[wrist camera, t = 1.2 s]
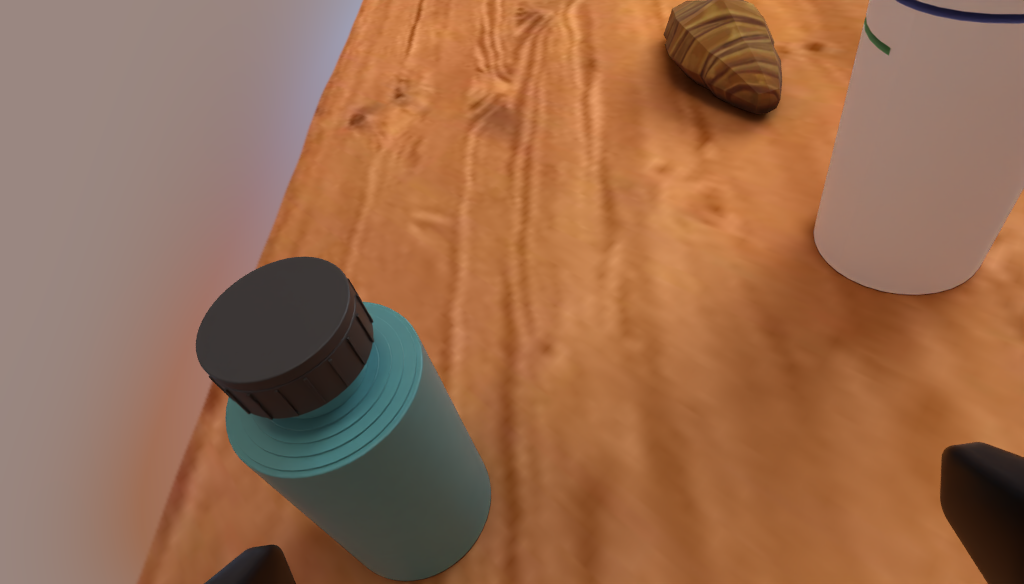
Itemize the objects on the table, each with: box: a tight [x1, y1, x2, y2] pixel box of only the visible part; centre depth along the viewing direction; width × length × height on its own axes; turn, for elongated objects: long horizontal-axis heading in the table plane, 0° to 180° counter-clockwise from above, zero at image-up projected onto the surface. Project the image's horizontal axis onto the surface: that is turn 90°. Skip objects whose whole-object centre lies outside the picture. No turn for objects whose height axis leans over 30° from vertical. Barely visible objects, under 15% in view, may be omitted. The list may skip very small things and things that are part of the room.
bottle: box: [226, 302, 491, 581], centre depth 21 cm, size 6×6×12 cm
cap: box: [196, 257, 374, 420], centre depth 17 cm, size 4×4×2 cm
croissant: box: [664, 0, 782, 114], centre depth 40 cm, size 14×7×5 cm, turn 13°
